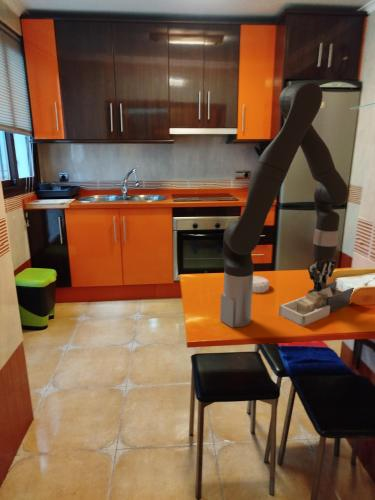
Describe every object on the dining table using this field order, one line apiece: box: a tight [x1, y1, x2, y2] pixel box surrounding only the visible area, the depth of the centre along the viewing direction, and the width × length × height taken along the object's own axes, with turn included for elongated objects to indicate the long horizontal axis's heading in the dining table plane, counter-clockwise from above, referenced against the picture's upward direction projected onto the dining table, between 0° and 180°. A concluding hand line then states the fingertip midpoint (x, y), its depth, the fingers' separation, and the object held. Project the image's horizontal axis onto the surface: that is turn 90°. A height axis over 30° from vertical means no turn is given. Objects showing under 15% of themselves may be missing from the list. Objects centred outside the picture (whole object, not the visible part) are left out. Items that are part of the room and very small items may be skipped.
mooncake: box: [252, 275, 270, 294], centre depth 143 cm, size 12×12×4 cm
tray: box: [278, 295, 330, 327], centre depth 119 cm, size 14×10×4 cm
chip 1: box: [297, 299, 314, 315], centre depth 119 cm, size 4×4×4 cm
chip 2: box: [305, 292, 323, 309], centre depth 120 cm, size 4×4×4 cm
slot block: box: [307, 281, 355, 314], centre depth 126 cm, size 16×8×6 cm, turn 124°
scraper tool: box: [312, 272, 333, 298], centre depth 121 cm, size 2×5×9 cm, turn 35°
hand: (319, 289), depth 121 cm, fingers closed on scraper tool, 2 cm apart
